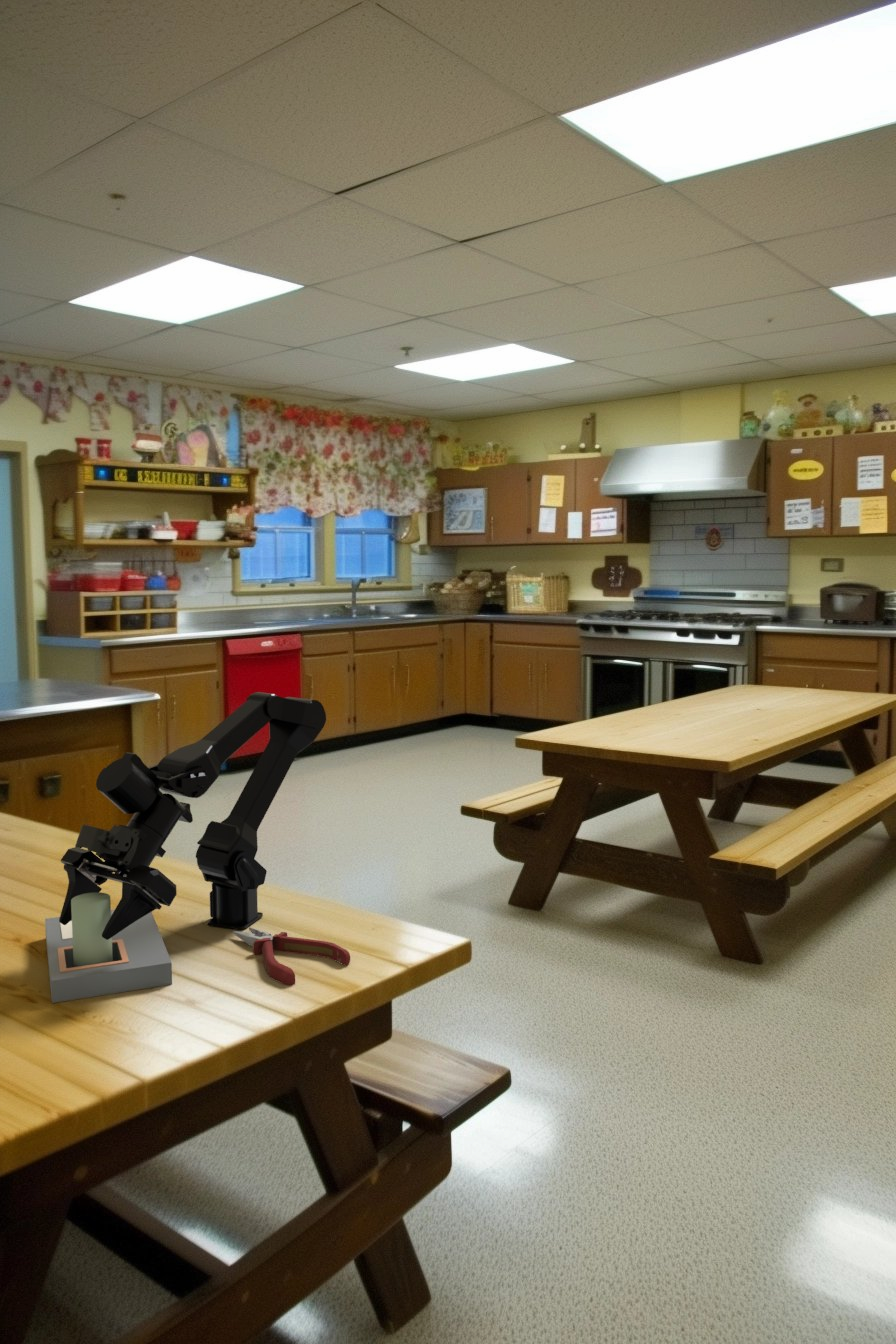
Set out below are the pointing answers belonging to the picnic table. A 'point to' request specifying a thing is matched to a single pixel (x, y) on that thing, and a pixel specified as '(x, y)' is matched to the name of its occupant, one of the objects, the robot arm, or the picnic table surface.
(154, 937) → the slotted grey base
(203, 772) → the robot arm
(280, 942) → the pliers
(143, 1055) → the picnic table surface
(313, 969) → the picnic table surface
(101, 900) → the post
